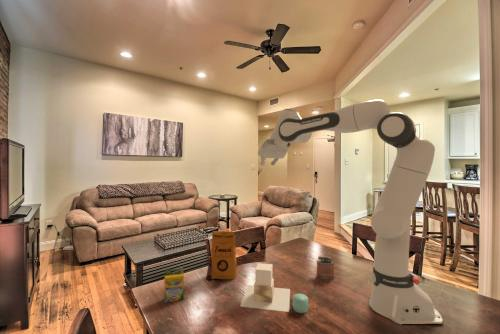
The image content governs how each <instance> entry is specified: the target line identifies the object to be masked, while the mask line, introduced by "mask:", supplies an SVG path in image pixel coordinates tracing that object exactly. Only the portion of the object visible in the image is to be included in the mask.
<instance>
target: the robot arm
mask: <svg viewBox="0 0 500 334" xmlns="http://www.w3.org/2000/svg"><path fill="white" fill-rule="evenodd" d="M366 130H376V131H377V132H376V133H377V135H378V136H379V138H380V139H381V141H383V142H384V143H386V144H388V145H390V146H392V147H394V148H395V149H396V156H395V159H394V162H393V164H392V167H391V170H390V173H389V174H388V177H387V180H386V184H385V185H384V188H383V190H382V192H381V194H380V196H379V198H378V200H377V203H376V205H375V207H374V210H373V212H372V214H371V218H370V225H371V226H370V227H371V229H372V231H374V232H373V233H375V234H376V236H375V241H374V247H373V248H374V252H373V253H374V257H373V259H374V260H373V261H374V262H373V263H374V266H372V273H371V274H372V275H371V276H372V292H371V296H370V298H369V301H368V305H369V306H370V308H371V309H372V311H374V312H376V313H377V314H379V315H381V316H383V317H385V318H387V319H389V320H392V321H393V322H394V323H396V324H398V325H402V324H420V323H442V322H444V319H443V317H442V315H441V313H440V312H439V311H438V310H437V309H436V308H435V307H434V303H433V301H432V299H431V297H430V296H429V295H428V294H427V293H426V292H425V291H424V290H423V289H421V288H420V287H419V285H420V284H421V280H420V279H419V278H418V277H417V276H414V274H413V273H411V272H409V271H410V269H409V266H410V265H409V262H410V261H409V260H410V258H409V257H410V242H411V226H412V225H411V224H412V223H411V222H412V216H413V213H414V211H415V208H416V206H417V203H418V202H419V199H420V198H421V195H422V192H423V190H424V187H425V184H426V182H427V180H428V177H429V175H430V172H431V168H432V166H433V162H434V158H435V151H436V147H435V145H434V144H433V143H432V142H431V141H430V140H427V139H425V138H421V137H418V136H417V135H416V134H417V127H416V125H415V122H414V121H413V119H412V118H410V116H408V115H407V114H406V113H403V112H398V111H396V112H395V111H394V112H391V111H390V107H389V105H388V104H387V102H386V101H384V100H383V99H372V100H365V101H362V102H357V103H356V102H355V103H352V104H350V105H346V106H344V107H341V108H337V109H335V110H332V111H329V112H326V113H320V114H317V115H313V116H308V117H304V118H302V117H301V116H300V113H299V111H297V110H294V109H291V108H284V109H283V110H282V111H281V112H280V113H279V114H278V117H277V120H276V122H275V126H274V128H273V130H272V131H271V133H270V136H269V138H267V139H266V140H264V141H263V142H262V143H261V146H260V147H259V149H258V151H257V156H258V157H260V163H259V164H260V166H265V165H266V162H265V161H266V160H267V159H273V160H271V162H270V165H271V166H275V165H276V164H277V162H278V161H279V159H284V158H285V157H286V156H287V153H288V152H289V148H290V147H291V145H292V143H298V144H305V143H306V142H308V141H309V140H310V139H311V137H312V133H315V132H319V131H329V132H334V133H335V132H336V133H341V134H348V133H349V134H351V133H358V132H363V131H366ZM438 317H440V318H438Z"/></svg>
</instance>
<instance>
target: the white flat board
mask: <svg viewBox="0 0 500 334" xmlns="http://www.w3.org/2000/svg"><path fill="white" fill-rule="evenodd" d="M290 297H291V289H290V288H284V287H283V288H282V287H274V295H273V301H272V303H269V302H260V301H254V284H253V285H252V284H248V285H247V287H246V291H245V292H244V295H243V297H242V300H241V302H240V304H239V305H240V306H239V307H243V308H251V309H258V310H269V311H277V312H286V313H289V312H290V301H291V299H290Z"/></svg>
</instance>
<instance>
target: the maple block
mask: <svg viewBox="0 0 500 334" xmlns="http://www.w3.org/2000/svg"><path fill="white" fill-rule="evenodd" d="M253 285H254V301H260V302H269V303H272V301H273V295H274V288H275V279H274V278H273V279H272V284H271V286H262V285H256V280H255V281H254V284H253Z"/></svg>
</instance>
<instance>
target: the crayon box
mask: <svg viewBox="0 0 500 334" xmlns="http://www.w3.org/2000/svg"><path fill="white" fill-rule="evenodd" d="M184 269H185V268H173V269H165V270H164V279H163V280H164V282H163V283H164V289H163V292H164V297H163V299H164V300H163V302H164V303H170V302H177V301H184V300H185V299H184V297H185V292H184V291H185V288H184V287H185V286H184V285H185V283H184V281H185V278H184V277H185V275H184V274H185V273H184ZM174 271H175V272H174Z"/></svg>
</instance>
